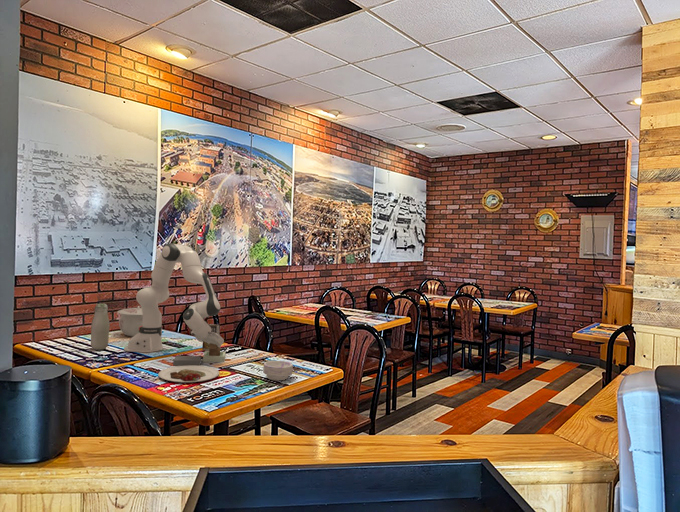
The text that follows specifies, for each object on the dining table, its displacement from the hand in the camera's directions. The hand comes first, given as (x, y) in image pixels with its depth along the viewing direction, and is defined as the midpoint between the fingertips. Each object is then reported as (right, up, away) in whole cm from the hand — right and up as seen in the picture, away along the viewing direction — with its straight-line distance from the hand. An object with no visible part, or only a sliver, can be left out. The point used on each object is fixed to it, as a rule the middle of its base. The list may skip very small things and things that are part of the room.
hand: (215, 345), depth 289 cm
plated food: (-4, -9, -37) cm, 38 cm away
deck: (-13, -8, -13) cm, 20 cm away
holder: (-1, -8, 0) cm, 8 cm away
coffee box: (-9, -7, +23) cm, 25 cm away
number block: (-1, -6, 0) cm, 6 cm away
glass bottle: (-72, -4, +8) cm, 73 cm away
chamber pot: (-69, -3, +55) cm, 88 cm away
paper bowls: (+40, -11, -32) cm, 53 cm away
